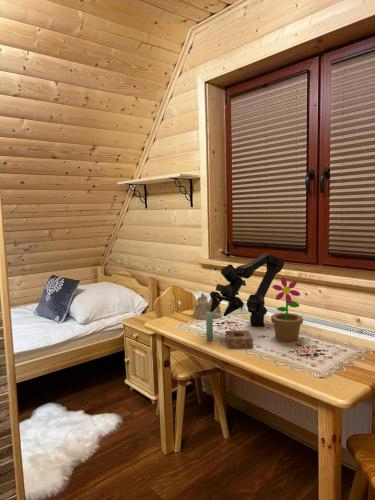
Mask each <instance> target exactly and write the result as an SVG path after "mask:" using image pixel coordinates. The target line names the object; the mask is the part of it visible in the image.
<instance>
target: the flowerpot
mask: <svg viewBox="0 0 375 500" xmlns="http://www.w3.org/2000/svg"><path fill="white" fill-rule="evenodd" d="M280 282H281V285H282V286H283V287H282V286H281V285H278V284H274V285H273V284H272V289H274V290H275V291H279V293H278V294H276V296H275V300H276V301H278V300H281V299H282V298H284V295H285V306H279V307H277V308H276V310H277V311H279V312H278V313H273V314H272V315H271V316H270V322H271V323H272V324H273V328H274V335H275V339H276V340H277V341H279V342H283V343H295V342H297V341H298V340H299V336H300V328H301V325H302V324H303V323H304V318H303V316H302V315H299V314H297V313H291V312H290V313H289V307H291V308H299V307H300V304H299V303H298V302H297V301H294V300H292V297H291V296H295V297H299V296H301V293H300V292H299V290H295V289H294V288H295V286H297V284H298V281H297V280H293V281H291V282H290V283H289V284H288V282H287V278H286V277H284V276H281V278H280ZM287 285H288V286H287ZM280 291H281V292H280Z"/></svg>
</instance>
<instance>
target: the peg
mask: <svg viewBox="0 0 375 500" xmlns="http://www.w3.org/2000/svg"><path fill="white" fill-rule="evenodd" d="M205 321H206V323H205V324H206V325H205V327H206V341H207V342H212V341H213V340H214V329H213V328H214V326H213V325H214V324H213V323H214V319H213V313H212V312H206V319H205Z"/></svg>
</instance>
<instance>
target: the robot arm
mask: <svg viewBox="0 0 375 500" xmlns="http://www.w3.org/2000/svg"><path fill="white" fill-rule="evenodd" d="M264 265H266V266H265V267H266V268H265V269H266V272H265V274H264V275H263V278H262V280H261V282H260V284H259V285H258V288H257V289H256V292H255V293H253V294H250V295H249V296H248V299H246V301H247V302H246V303H245V302H244V301H243V300H242V299H241V298H240V297H239V296H238V295H239V294H240V292H239V291H240V289H241V288H242V287H243V286H244V287H246V286H247V282H246V280H243V279H250V278H251V277H252V276H253V275H254V272H256V271H257V270H258V269H259V268H261V267H262V266H264ZM284 265H285V261H284V259H283V258H279V257H277V256H274V255H272V254H270V253H262V254H260V256H258V257H256V258H255V259H253V260H252V261H250V262H249V263H245V264H241V265H238V266H236V267H234V266H233V264H231V263H229V264H227V265H226V266H225V267H223V268H222V269H221V271H220V274H221V275H222V276H223V278H224V279H225V280H226V282H228V284H226V285H224V284H219V283H217V284H216V286H215V291H213V290H212V291H210V293H209V296H210V299H211V298H212V305H211V309H210V312H213V311H214V310H215V309H216V308H217V307H218V306H220V305H221V304H222V302H223V301H224V302H229V305H228V307H227V306H226V307H227V309H225V310H226V311H225V312H224V313H223V314H222V315H223V316H224V317H227V316H229V315H230V314H232V313H231V312H233V311H235V310H237V309H239V308H242V307H243V305H244V304H245V306H246V308H247V311H248V313H250V315H249V324H250V325H251V326H252V327H265V315H267V312H268V309H267V308H266V307H265V304H266V302H265V297H266V296H267V293H268V291H269V290H270V288H271V287H270V286H271V285H272V282H273V280H274V279H275V276H277V275H278V273H281V271H282V270H283V268H284V267H285V266H284ZM223 316H222V317H223Z"/></svg>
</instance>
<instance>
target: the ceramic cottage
mask: <svg viewBox="0 0 375 500" xmlns="http://www.w3.org/2000/svg"><path fill="white" fill-rule="evenodd" d="M208 300H209V301H208ZM211 305H212V298H211V297H210V299H208V296H207V295H205V294H204V292H201V295H200V296H199V297H198V298H196V300H194V304H193V306H194V312H193V317H194V318H195V319H198V320H205V321H206V312H210V309H211ZM221 308H222V307H221V306H220V305H219V306H218V307H217V308H216V309H215V310H214V311H213V312H212V313H213V320H217V319H218V320H219V319H222V318H223V316H222V315H223V313H222V311H221Z"/></svg>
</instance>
